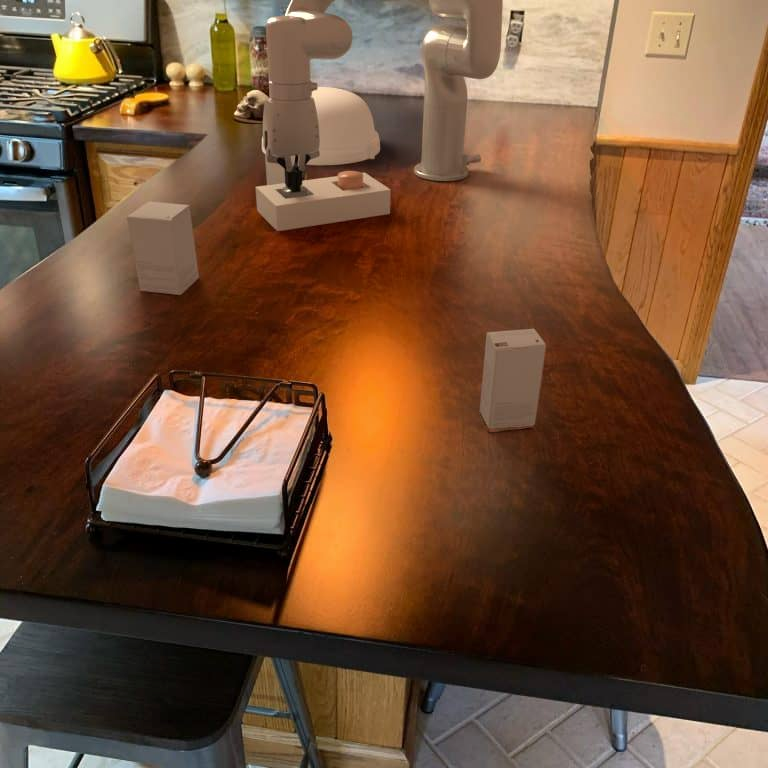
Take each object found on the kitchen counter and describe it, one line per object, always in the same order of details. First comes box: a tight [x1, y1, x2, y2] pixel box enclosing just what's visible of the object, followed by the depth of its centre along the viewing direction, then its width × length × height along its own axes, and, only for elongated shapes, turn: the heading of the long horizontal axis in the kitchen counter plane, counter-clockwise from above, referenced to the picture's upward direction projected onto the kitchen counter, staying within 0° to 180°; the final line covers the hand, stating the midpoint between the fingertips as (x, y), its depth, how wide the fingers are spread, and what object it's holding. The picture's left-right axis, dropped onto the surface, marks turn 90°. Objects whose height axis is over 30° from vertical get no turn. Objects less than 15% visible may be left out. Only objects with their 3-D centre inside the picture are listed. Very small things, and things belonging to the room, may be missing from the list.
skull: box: [232, 89, 269, 124], centre depth 217 cm, size 12×10×10 cm
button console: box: [255, 172, 391, 232], centre depth 154 cm, size 24×12×5 cm, turn 117°
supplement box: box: [126, 201, 200, 296], centre depth 122 cm, size 7×7×13 cm
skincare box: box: [479, 328, 547, 429], centre depth 91 cm, size 6×4×12 cm
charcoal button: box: [282, 186, 308, 199], centre depth 151 cm, size 5×5×4 cm
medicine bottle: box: [265, 155, 308, 185], centre depth 168 cm, size 7×7×12 cm
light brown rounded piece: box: [337, 170, 363, 191], centre depth 155 cm, size 5×5×4 cm
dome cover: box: [261, 86, 381, 166], centre depth 191 cm, size 32×30×14 cm
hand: (294, 189), depth 150 cm, fingers closed
